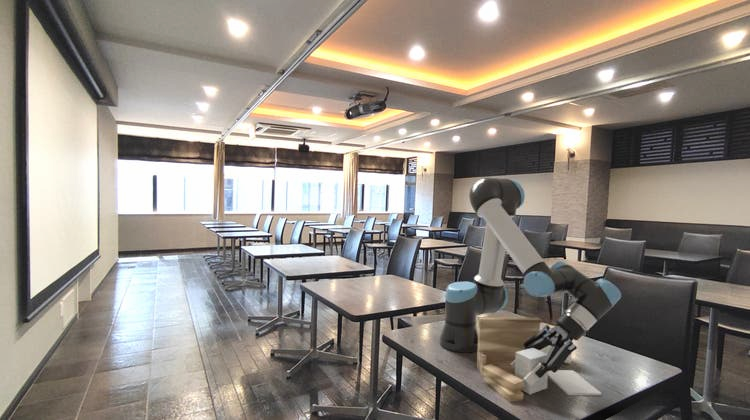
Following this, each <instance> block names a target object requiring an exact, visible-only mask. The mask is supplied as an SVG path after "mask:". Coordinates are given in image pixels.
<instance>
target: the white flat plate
mask: <svg viewBox="0 0 750 420" xmlns="http://www.w3.org/2000/svg"><path fill="white" fill-rule="evenodd" d="M548 378H549V379H550V380H551V381H552V382H553V384H555V385H556V386H557V387H559V389H561V391H563V393H565V394H566V395H567V396H602V392H600V391H599V390H598V389H597V388H596V387H594V386H593V385H592V384H590V383H589V382H588V381H586V380H585V379H584V377H582V376H580V375H579V374H578V373H577V372H576V371H574V370H573V369H570V370H569V369H567V370H565V369H564V370H563V369H561V370H560V369H558V370H557V371H556V372H555V373H553V372H552V371H548Z"/></svg>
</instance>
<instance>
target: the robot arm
mask: <svg viewBox="0 0 750 420" xmlns="http://www.w3.org/2000/svg"><path fill="white" fill-rule="evenodd" d="M525 194H526V193H525V191H524V188H523V186H522V185H521V184H520V183H519V182H518V181H516V180H514V179H509V178H495V177H494V178H493V177H482V178H479V179H478V180H476V181H475V182H474V183H473V184H472V185H471V187H470V190H469V195H468V196H469V202H470V205H471V208H472V209H473V211H474V213H475V214H476V215H477V217H479V218H481V219H482V218H483V220H484V221H485V231H484V236H483V241H482V242H483V243H482V250H481V256H480V262H479V269H478V274H476V275H475V276H474V277H473V282H471V281H455V282H452V283H450V284H448V285H447V286H446V289H445V295H444V296H445V309H444V310H445V312H444V324H443V327H442V329H441V332H440V336H439V344H440V346H442V347H443V348H445V349H446V350H448V351H452V352H458V353H474V352H476V351H478V328H477V317H478V316H480V315H485V314H495V313H497V312H500V311H501V310H503V309H504V308H505V307H506V305H507V304H508V300H509V299H508V298H509V294H508V292H507V288H506V286H505V283H504V281H503V279H502V274H503V273H502V272H503V266H504V260H505V256H506V252H507V253H508V255H509V257H510V258H511V259H512V260H513V262H514V264H515V265H516V266H517V268H518V269H519V271H520V272H521V274H522V275H523V276H524V278H523V284H524V285H523V286H524V289H525V291H526V292H527V293H528V294H529V295H531V296H532V297H536V298H542V297H543V298H544V297H545V298H547V297H550V296H554V295H558V294H565V293H567V294H568V295H570V296H571V297H573V298H574V299H576V301H574V302H573V303H572V305H570V306H569V307H568V308H567V309H566V310H565V313H561V315H559V317H558V318H557V319H556V320H555V324H556V325H554V326H553V327H550V326H549V325H548V324H546V325H545V326H544V327H543V328H542V329H540V332H538V333H537V334H536V335H534V336H533V337H532V338H531V339H529V340H528V341H527V342H525V343H524V346H525V350H526V349H530V348H535V349H537V350H541V349H543V348H545V347H547V346H549V345H550V346H552V347H551V349H550V350H549V352H548V354H547V356H546V358H545V360H544V361H543V362H541V363H539V364H538V365H537V366H536V367H535V368H534V369H533V370H532V371H531V372H530V373H529V374H527V375H526V376H525V377H524V380H525V381H526V382H527V383H528V384H529V385H530V386H532V385H533V384H534V383H535V382H536V381H537V380H538V379H539V378H541V377H542V376H543V375H544V374H545V373H546V372H547V371H552V372H553V373H555V372H556V371H557V370H560V368H561V366H562V365H563V364H565V363H564V361H565V360H566V359H567V357H568V356H569V355H570V354H571V353H572V354H573V352H574V351H575V350H576V349H578V348H577V347H578V346H576V345H575V344H574V342H573V341H579V340H580V339H581V338H582V337H583V336H584V335H585V334H586V333H585V332H586V331H590V328H592V327H593V326H594V325H595V324H596V323H597V322H598V321H599V320H600V319H601V318H602V317H603V316H604V315H606V313H608V311H610V310H611V309H612V308H613V307H614V306H615V305H616V304H617V303H618V301H620V299H621V298H622V293H621V290H620V289H619V288H618V287H617V286H616V285H615V284H613V283H612V282H611V281H609V280H606V279H605V278H598V279H597V280H596V281H594V280H593V279H591V278H589V277H588V276H586V275H585V274H584V273H582V272H580V270H578V269H576V268H575V267H574V266H572V265H571V264H568V263H566V262H565V261H563V260H561V261H557V262H556V263H554V264H552V265H551V266H549V265H548V264H547V263H546V262H545V260H544V259H543V257H541V256H540V254H539V253H538V251H537V250H536V248H535V247H534V246H533V245H532V243H531V242H530V241H529V239H528V238H527V237H526V235H525V234H524V233H523V231H522V230H521V229H520V228H519V226H518V225H517V224H516V222H515V221H514V220H513V218H515V217H516V212H517V210H518V209H519V208H521V206H523V205H524V201H525V197H526V196H525ZM511 365H512V366H513V367H514V368H515V360H514V361H513V362H512V363H511Z"/></svg>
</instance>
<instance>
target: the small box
mask: <svg viewBox="0 0 750 420" xmlns="http://www.w3.org/2000/svg"><path fill="white" fill-rule="evenodd" d="M546 356H547V354H546V353H544V352H542V351H539V350H537V349H535V348H530V349H526V350H522V351H519V352H516V357H515V375H514V376H516V377H518V378H520V379H522V380H524V377H525V376H526V375H527V374H529V373H530V372H531V371H532V370H533V369H534V368H535V367H536V366H537V365H538V364H539V363H541V362H543V361H544V360H545V358H546ZM548 378H549V377H548V371H547V372H546V373H545V374H544V375H543V376H542V377H541V378H539V379H538V380H537V381H536V382H535V383H534V384H533V385H532V386H530V385H529V384H528V383H527V382H526V381H525V380H524V389H522V390H521V392H523V393H526V394H528V395H533V394H536V393H538V392H541V391H543V390H546V389H548Z"/></svg>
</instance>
